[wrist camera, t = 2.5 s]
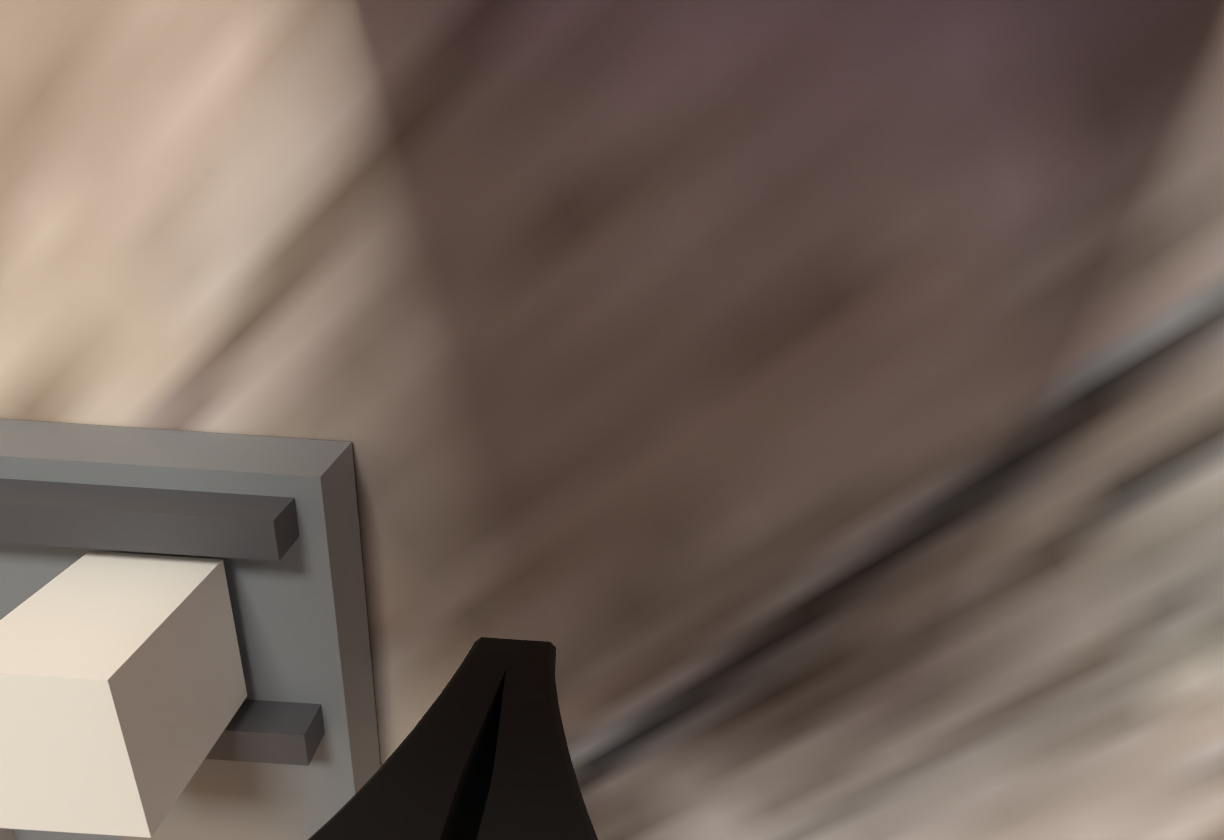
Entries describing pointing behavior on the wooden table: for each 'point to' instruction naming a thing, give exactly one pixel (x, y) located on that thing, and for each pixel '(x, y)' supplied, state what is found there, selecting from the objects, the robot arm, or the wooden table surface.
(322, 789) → the breaker panel
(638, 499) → the wooden table surface
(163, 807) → the switch
